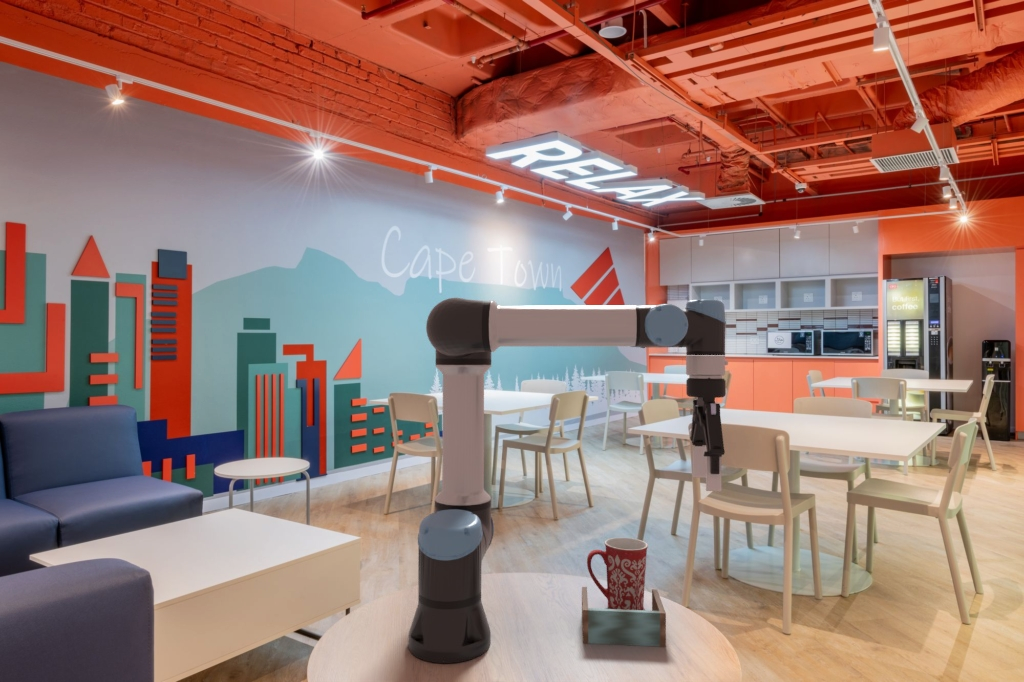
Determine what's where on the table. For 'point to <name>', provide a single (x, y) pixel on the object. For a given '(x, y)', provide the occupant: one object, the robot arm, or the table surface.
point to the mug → (623, 572)
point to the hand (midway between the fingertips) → (706, 483)
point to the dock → (624, 624)
